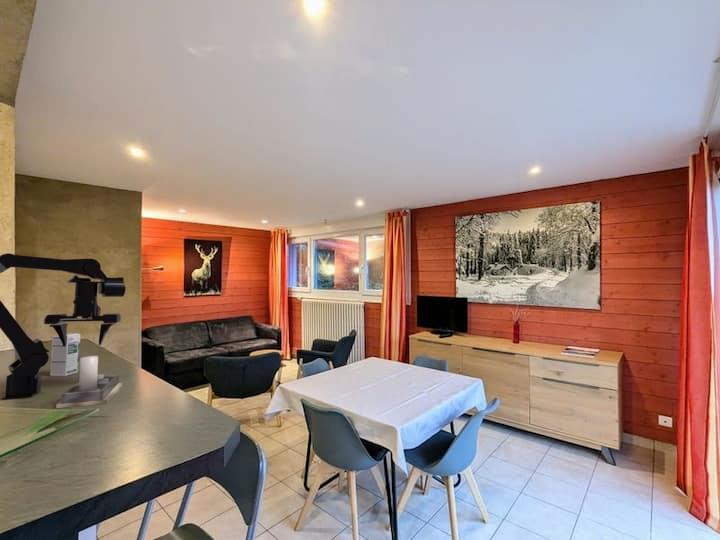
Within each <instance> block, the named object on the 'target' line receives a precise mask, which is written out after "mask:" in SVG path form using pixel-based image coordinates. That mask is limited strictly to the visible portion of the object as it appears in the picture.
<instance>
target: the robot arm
mask: <svg viewBox="0 0 720 540" xmlns="http://www.w3.org/2000/svg"><path fill="white" fill-rule="evenodd" d="M101 267H102V266H101V264H100V261H98V260H97V259H95V258H72V259H71V258H70V259H64V258H62V259H61V258H51V257H42V256H41V257H40V256H30V255H23V254H22V255H21V254H19V255H18V254H14V253H10V252H8V253H3V254H1V255H0V274H2V273H3V272H5V271H7V270H9V269H10V268H17V269H29V270H30V269H31V270H43V271H54V272H55V271H56V272H57V271H58V272H62V273H63V272H64V273H68V274H72V275H73V276H72V277H71V278H70V279H68V280H67V283H70V284H71V283H74V284H75V285H74V298H73V299H74V300H73V301H72V304H73V313H72V314H71V315H67V313H51V314H47V315H46V316H45V317H44V320H43V325H48V326H49V327H50V328H53V329H54V330H55V332H56V335H58V336H59V338H60V340H61V342H62V344H63V346H66V344H67V334H68V333H67V329H68V324H69V323H65V322H103V323H101V324H100V328H99V335H98V337H99V338H98V345H99V346H101V345H102V343H103V342H104V340H105V336H106V335H107V333H108V331H109V329H110V328H111V327H112V326H114V325H116V324H118V323H119V322H121V319H122V317H121V313H118V312H117V313H105V314H104V313H103V315H101V311H102V309H101V307H100V306H99V305H98V294H99V295H101V296H102V297H103V298H123V297H124V296H125V294H126V284H125V279H124V277H120V276H119V277H107V275H106V274H105V272H104V271H103V270H102V268H101ZM79 276H81V277H79ZM91 279H92V280H100V281H92V280H91ZM80 317H81V318H80ZM0 330H1V332H3V334H4V335H5V336H6V338H7V339H8V340H9V341H10V343H11V345H12V346H13V350H14V352H15V354H16V356H17V359H16V360H15V361H14V362H12V363H11V364H9V365H8V370H9V372H10V374H8V375H6V383H5V395H4V396H3V397H1V400H11V399H24V398H32V397H34V396H35V395H37V394H38V393H40V392H41V388H42V387H41V386H42V377H41V376H40V369H41V368H43V367H45V366H46V364H47V363H48V361H49V359H50V356H49V352H50V350H48V349H47V348H46V347H45V346H44V344H43V341H42V340H41V339H40V338H35V339H34V340H32V339H31V338H30V337H29V336H28V334H27V333H26V332H25V330H23V328H22V326H21V325H20V324H19V323H18V322H17V320H16V319H15V317H14V316H13V315H12V314H11V312H10V311H9V310H8V308H7V307H6V305H5V304H4V303H3V302H2V301H1V300H0Z"/></svg>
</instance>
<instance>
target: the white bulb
mask: <svg viewBox="0 0 720 540" xmlns="http://www.w3.org/2000/svg"><path fill="white" fill-rule="evenodd" d="M98 368H99V355H88V356H82V357H79V381H78V382H79V391H77V392H88V391H100V389H99V388H97V375H98V374H99V373H98V371H99V369H98Z"/></svg>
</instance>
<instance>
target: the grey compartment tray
mask: <svg viewBox="0 0 720 540" xmlns="http://www.w3.org/2000/svg"><path fill="white" fill-rule="evenodd" d="M122 386H123V382H120V375H116V374H115V375H106V376H105V374H103V373H98V375H97V388H99V389H100V391H88V392H77V391H79V381H78V382H76V383H75V384H74V385H72V386H71V387H70V388H68V389H67V390H66V391H64V392H63V393H61V398H60V401H58V403H56V404H55V405H56V407H55V408H56V409H63V408H72V407H75V408H76V407H85V406H95V405H105V404H106V403H107V404H108V403H109V402H110V400H112V398H113V397H114V396H115V395H114V394H116V393H117V392H118V391H119V390H120V389H121V388H122ZM120 387H121V388H120ZM119 388H120V389H119Z"/></svg>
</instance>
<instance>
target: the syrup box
mask: <svg viewBox="0 0 720 540" xmlns="http://www.w3.org/2000/svg"><path fill="white" fill-rule="evenodd" d="M80 351H81V333H76V332H75V333H74V332H69V333H67V344H66V346H63V344H62V342H61V340H60V338H59V336H58V334H56V335H55V334H54V335H52V338H51V358H50V377H67V376H71V375H74V374H78V373H80V356H81V355H80Z"/></svg>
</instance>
